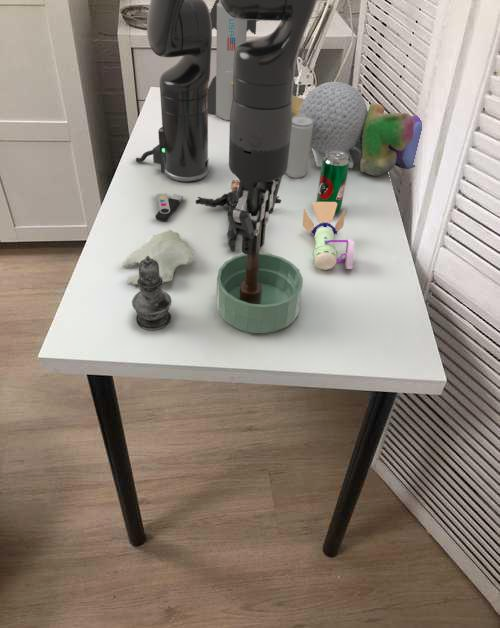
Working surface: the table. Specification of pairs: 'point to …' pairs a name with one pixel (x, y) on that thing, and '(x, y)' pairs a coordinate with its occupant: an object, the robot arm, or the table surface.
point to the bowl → (276, 298)
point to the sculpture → (383, 139)
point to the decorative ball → (335, 116)
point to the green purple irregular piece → (408, 147)
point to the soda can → (333, 177)
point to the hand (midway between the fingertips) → (252, 248)
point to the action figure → (230, 201)
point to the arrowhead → (162, 255)
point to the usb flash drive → (167, 205)
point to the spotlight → (327, 236)
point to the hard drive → (319, 156)
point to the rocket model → (225, 58)
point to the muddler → (252, 278)
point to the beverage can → (299, 146)
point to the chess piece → (151, 297)
